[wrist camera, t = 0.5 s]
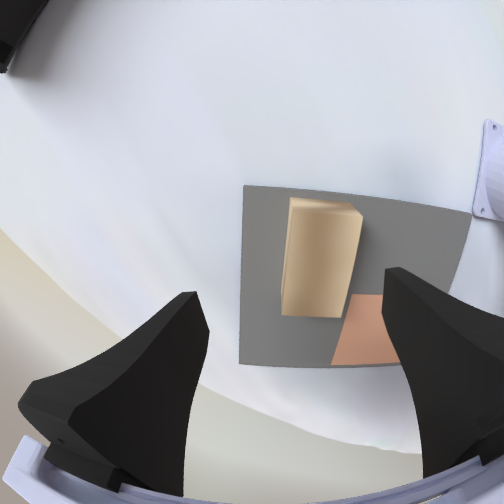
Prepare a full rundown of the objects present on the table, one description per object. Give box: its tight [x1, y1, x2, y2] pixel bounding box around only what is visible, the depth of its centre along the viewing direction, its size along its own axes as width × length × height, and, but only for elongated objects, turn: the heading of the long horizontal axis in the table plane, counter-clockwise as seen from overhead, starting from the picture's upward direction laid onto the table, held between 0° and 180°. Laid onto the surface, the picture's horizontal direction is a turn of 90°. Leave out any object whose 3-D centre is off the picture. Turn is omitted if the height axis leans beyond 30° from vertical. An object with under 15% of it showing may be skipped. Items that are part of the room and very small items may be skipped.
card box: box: [281, 197, 363, 318], centre depth 18 cm, size 4×7×3 cm, turn 177°
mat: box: [239, 185, 472, 368], centre depth 21 cm, size 18×16×1 cm
